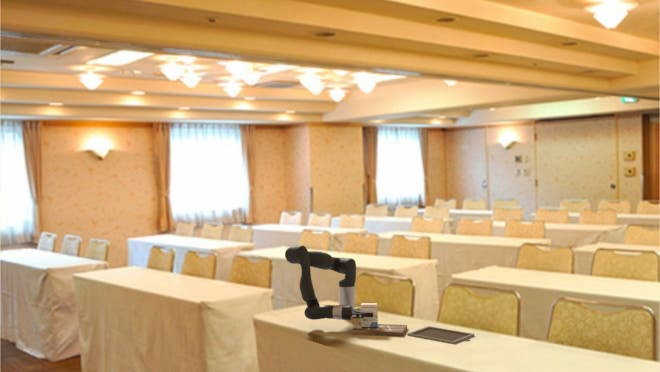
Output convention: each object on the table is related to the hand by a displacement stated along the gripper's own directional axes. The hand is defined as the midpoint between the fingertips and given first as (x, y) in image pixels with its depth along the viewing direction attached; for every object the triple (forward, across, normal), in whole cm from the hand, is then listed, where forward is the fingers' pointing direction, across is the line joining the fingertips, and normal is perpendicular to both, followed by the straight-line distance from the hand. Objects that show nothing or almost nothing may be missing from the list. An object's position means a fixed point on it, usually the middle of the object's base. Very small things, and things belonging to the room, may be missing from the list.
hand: (374, 313), depth 343 cm
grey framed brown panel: (+36, -4, +10) cm, 37 cm away
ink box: (-3, 0, +7) cm, 7 cm away
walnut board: (+3, 0, +9) cm, 10 cm away
